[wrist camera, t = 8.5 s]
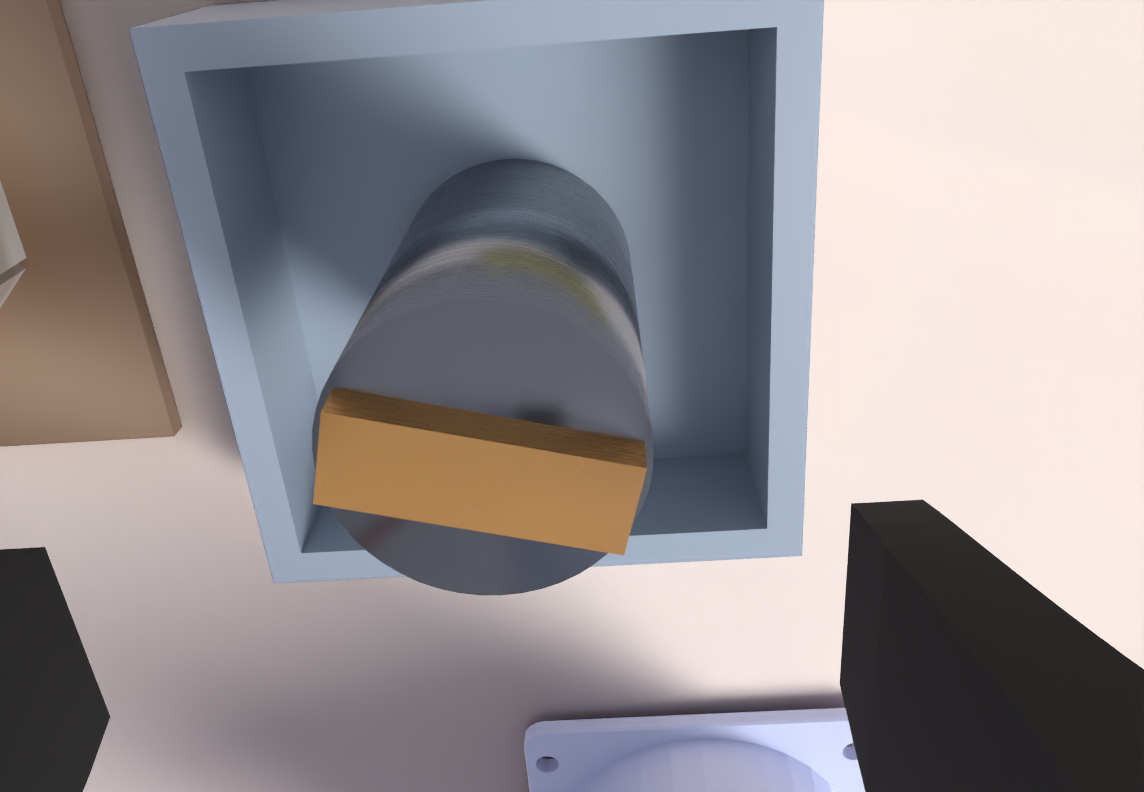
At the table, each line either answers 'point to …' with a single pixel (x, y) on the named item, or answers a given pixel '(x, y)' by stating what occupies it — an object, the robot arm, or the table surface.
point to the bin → (493, 132)
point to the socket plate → (66, 258)
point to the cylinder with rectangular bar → (493, 390)
